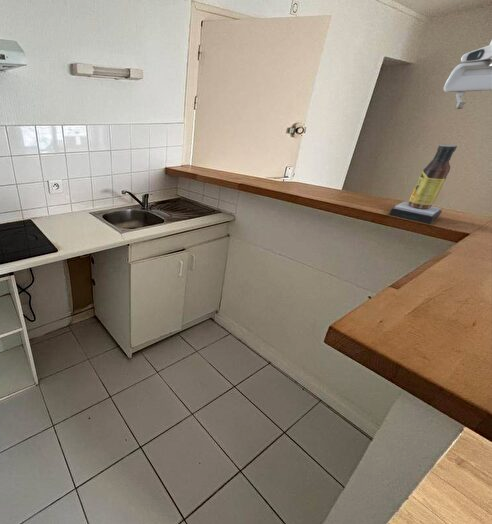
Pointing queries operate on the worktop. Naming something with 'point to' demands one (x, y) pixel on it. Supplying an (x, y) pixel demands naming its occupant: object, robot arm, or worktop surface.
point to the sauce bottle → (432, 178)
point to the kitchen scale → (415, 213)
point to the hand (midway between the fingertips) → (480, 108)
